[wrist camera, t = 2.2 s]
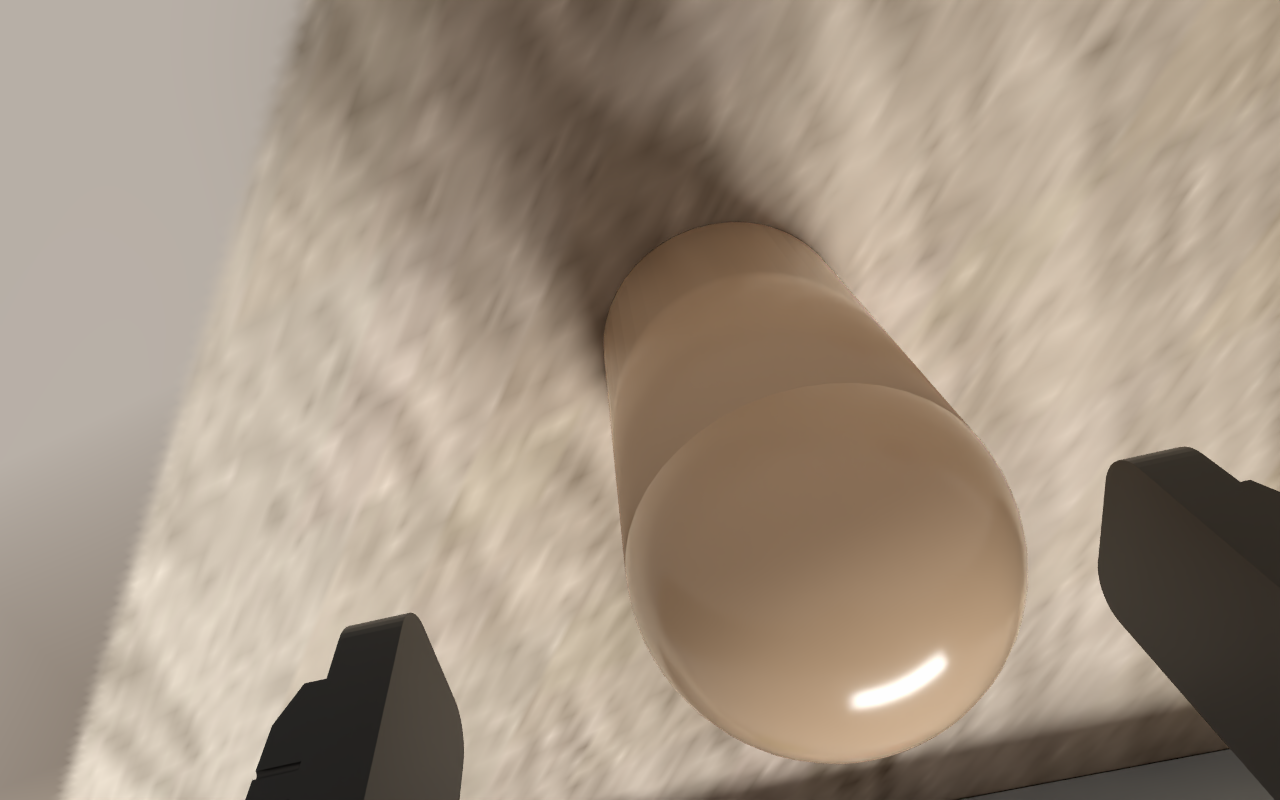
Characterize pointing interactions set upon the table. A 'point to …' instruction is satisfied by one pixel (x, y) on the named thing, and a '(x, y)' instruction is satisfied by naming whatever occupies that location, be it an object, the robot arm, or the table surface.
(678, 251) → the beige capsule
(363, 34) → the table surface
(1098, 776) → the divided rectangular frame
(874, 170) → the table surface
